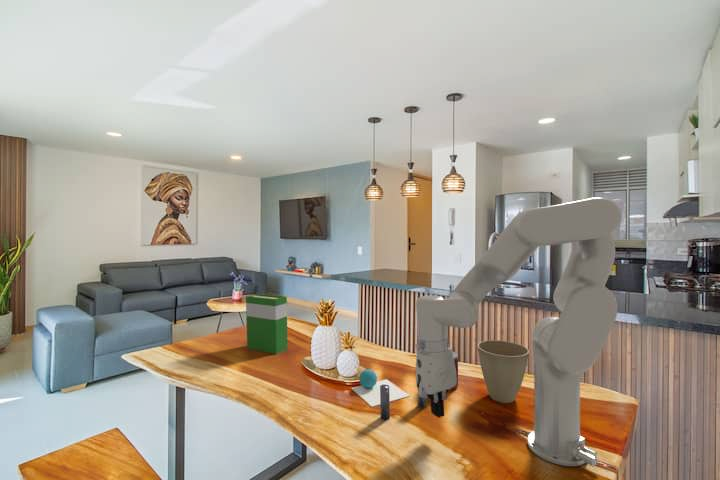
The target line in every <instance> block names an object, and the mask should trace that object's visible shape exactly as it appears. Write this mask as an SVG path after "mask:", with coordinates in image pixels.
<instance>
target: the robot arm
mask: <svg viewBox="0 0 720 480" xmlns="http://www.w3.org/2000/svg"><path fill="white" fill-rule="evenodd" d="M621 221H622V212H621V209H620V208H619V206H618V205H617V204H616V203H615V202H613V200H610V199H609V198H605V197H589V198H586V199H580V200H576V201H570V202H565V203H561V204H560V203H559V204H555V205H548V206H542V207H533V208H529V209H525V210H522V211H520V212H518V213H517V214H516V215H515V216H514V217H513V218H512V219H511V220H510V222H509V223H508V225H507V226H505V228H504V229H503V230H502V232H501V233H500V235H499V236H498V237H497V238H496V239H495V241H493V243H492V244H491V245H490V247H488V249H487V250H486V252H484V254H483V255H482V256H481V257H480V258H479V259H478V260H477V262H476V263H475V264H474V265H473V266H472V268H471V269H470V270H469V271H468V272H467V273H466V274H465V275H464V277H463V278H461V280H460V281H459V283H458V284H457V285H456V286H455V287H454V289H453V290H452V291H451V293H450V294H449V295H448V297H447V299H446V298H444V297H443V296H440V295H433V294H432V295H431V294H430V295H422V296H420V297H418V298H417V299H416V302H415V307H416V308H415V310H416V323H417V343H416V344H415V349H416V350H417V351H416V358H415V382H416V383H415V384H416V387H417V389H418V388H419V391H418V390H417V396H418V395H419V396H420V397H422V398H428V400H430V411H431V414H433V415H434V416H436V417H437V418H438V419H440V418H441V417H444V416H445V404H444V401H445V400H446V396H447V393H448V390H449V389H451V388H452V387H454V386H455V385H456V383H457V377H456V368H455V362H454V357H453V353H452V352H453V351H452V347H450V346H449V335H448V333H449V332H448V327H451V328H458V329H467V328H471V327H473V326H474V325H475V324H476V323H477V322H478V320H479V316H480V313H479V308H478V306H479V305H480V303H481V302H482V301H483V300H484V299H485V297H487V295H488V294H489V293H490V292H491V291H492V290H493V289H495V288H496V287H497V286H498V285H501V284H503V283H506V282H508V281H509V280H511V279H512V278H514V277H515V275H516V274H517V273H518V271H520V270H521V268H522V267H523V265H524V264H525V263H526V262H527V261H528V259H530V257H531V256H532V255H533V254H534V253H535V252H536V251H537V249H538V248H539V247H549V246H555V245H556V246H557V245H563V244H569V243H571V250H570V255H569V258H568V260H567V263H566V266H565V267H564V270H563V272H562V274H561V277H560V279H559V281H558V283H557V285H556V287H555V289H554V292H553V295H552V296H553V303H554V305H555V307H556V308H557V309H558V311H559V312H561V313H560V316H559V317H557V316H547V317H544V318H541V319H540V320H539V321H537V322H536V324H535V325H534V326H533V329H532V332H531V333H532V334H531V346H532V355H533V364H534V365H533V370H534V371H533V372H534V377H533V378H534V382H533V384H534V385H533V387H534V390H533V394H534V397H533V399H534V400H533V401H534V402H533V403H534V404H533V405H534V409H533V410H534V414H533V416H534V417H533V418H534V420H533V421H534V422H533V423H534V424H533V425H534V428H533V431H532V432H529V434H528V436H527V445H528V448H529V449H530V450H531V451H532V452H533V453H534V454H535V455H536V456H538V457H539V458H541V459H543V460H545V461H547V462H550V463H553V464H556V465H559V466H565V467H577V466H578V467H579V466H581V465H584V464H585V463H586V464H588V465H590V466H592V467H595V466H596V465H597V463H598V458H597V455H598V453H597V452H596V451H595V450H593V449H591V448H588V447H587V445H585V444H586V439H585V437H583V436H581V374H584V373H586V372H587V371H589V370H590V369H591V368H592V367H593V365H594V364H595V363H596V361H597V359H598V358H599V355H600V354H601V352H602V350H603V348H604V346H605V343H606V341H607V340H608V337H609V335H610V333H611V331H612V329H613V326H614V324H615V322H616V319H617V315H618V302H617V299H616V296H615V295H614V293H613V292H612V291H611V290H610V289H609V288H607V287H606V284H607V281H608V279H609V277H610V274H611V272H612V269H613V266H614V263H615V259H616V245H615V241H614V238H613V235H612V233H614V232H615V231H616V230H617V228H618V227H619V226H620V223H621Z"/></svg>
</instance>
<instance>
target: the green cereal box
mask: <svg viewBox="0 0 720 480" xmlns="http://www.w3.org/2000/svg"><path fill="white" fill-rule="evenodd" d="M287 297H288V296H285V295H276V294H275V295H273V294H265V293H256V295H254V296H253V295H252V296H249V295H246V296H245V311H246V312H245V314H246V315H245V316H246V317H245V318H246V319H245V320H246V348H247V349H248V348H249V350H254V351H259V352H264V353H269V354H274V355H278V354H280V353H282V352H284V351H287V350H288V348H289V344H288V341H289V340H288V310H287V309H288V307H287V306H288V300H287V299H288V298H287Z"/></svg>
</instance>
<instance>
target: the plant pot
mask: <svg viewBox="0 0 720 480" xmlns="http://www.w3.org/2000/svg"><path fill="white" fill-rule="evenodd" d="M477 350H478V357H479V363H480V368H481V373H482V376H483V381H484V383H485V386H486V389H487V392H488V395H489V397H490V398H491V399H492V400H493V401H495V402H499V403H502V404H511V403H513V402H515V400H516V398H517V396H518V394H519V392H520V389H521V386H522V384H523V382H524V381H523V380H524V377H525V373H526V369H527V367H528V360H529V354H530V350H529V349H528V348H527V347H525V346H524V345H523V344H519V343H516V342H512V341H507V340H498V339H494V340H493V339H490V340H482V341H480V342H479V343H478V344H477Z"/></svg>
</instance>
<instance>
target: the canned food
mask: <svg viewBox="0 0 720 480" xmlns="http://www.w3.org/2000/svg"><path fill="white" fill-rule="evenodd" d="M452 353H453V357H454V362H455V368H456V377H457V383H456V385H455V386H454V387H452V388H451V389H449V390H448V391H449V392H450V391H456V389H457V388H458V386H459V355H458V353H456V352H455V351H452Z"/></svg>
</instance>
